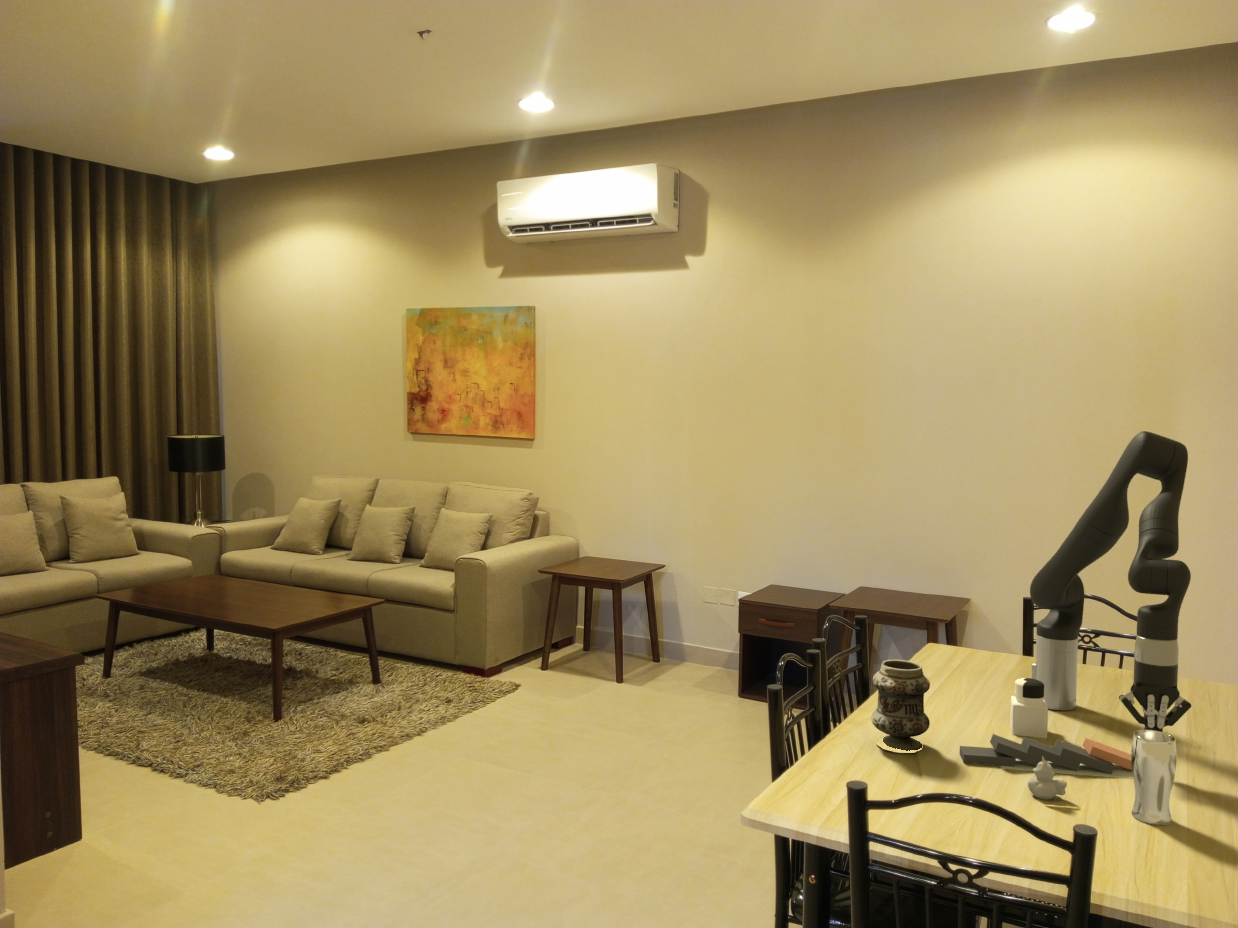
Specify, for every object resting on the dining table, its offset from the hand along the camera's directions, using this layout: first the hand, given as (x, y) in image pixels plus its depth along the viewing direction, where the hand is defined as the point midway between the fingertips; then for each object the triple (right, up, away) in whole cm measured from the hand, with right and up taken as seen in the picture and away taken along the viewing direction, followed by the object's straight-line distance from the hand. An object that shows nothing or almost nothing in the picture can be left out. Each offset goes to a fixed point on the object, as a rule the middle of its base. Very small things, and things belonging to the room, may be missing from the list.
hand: (1153, 744), depth 184 cm
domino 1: (-25, -5, +6) cm, 26 cm away
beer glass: (-11, -8, -19) cm, 23 cm away
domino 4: (-8, -5, +2) cm, 9 cm away
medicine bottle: (-14, -5, +24) cm, 29 cm away
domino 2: (-20, -5, +5) cm, 21 cm away
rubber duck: (-26, -7, -11) cm, 29 cm away
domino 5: (-2, -5, +3) cm, 6 cm away
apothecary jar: (-46, -5, +16) cm, 49 cm away
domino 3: (-14, -5, +4) cm, 15 cm away
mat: (-13, -6, +3) cm, 14 cm away
